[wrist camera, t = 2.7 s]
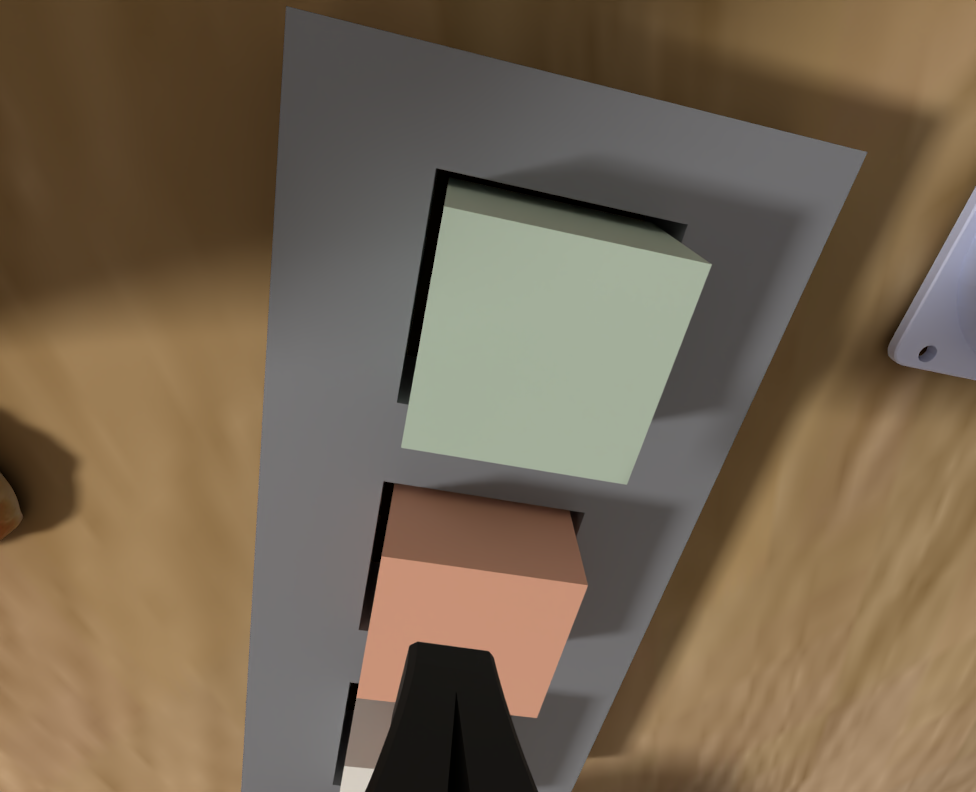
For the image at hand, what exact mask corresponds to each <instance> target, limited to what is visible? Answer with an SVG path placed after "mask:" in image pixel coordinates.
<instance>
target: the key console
mask: <svg viewBox="0 0 976 792" xmlns="http://www.w3.org/2000/svg"><path fill="white" fill-rule="evenodd" d="M866 154H867V152H865V151H861V150H857V149H853V148H849V147H845V146H841V145H837V144H833V143H829V142H825V141H821V140H817V139H813V138H809V137H805V136H801V135H797V134H793V133H789V132H785V131H781V130H777V129H773V128H769V127H765V126H761V125H757V124H753V123H749V122H745V121H741V120H737V119H733V118H729V117H725V116H721V115H717V114H713V113H709V112H705V111H701V110H698V109H694V108H690V107H686V106H682V105H678V104H674V103H670V102H666V101H662V100H658V99H654V98H650V97H646V96H642V95H638V94H634V93H630V92H626V91H622V90H618V89H614V88H610V87H606V86H602V85H598V84H594V83H590V82H586V81H582V80H578V79H574V78H570V77H566V76H562V75H558V74H554V73H550V72H546V71H542V70H538V69H534V68H530V67H526V66H522V65H518V64H515V63H511V62H507V61H503V60H499V59H495V58H491V57H487V56H483V55H479V54H475V53H471V52H467V51H463V50H459V49H455V48H451V47H447V46H443V45H439V44H435V43H431V42H427V41H423V40H419V39H415V38H411V37H407V36H403V35H399V34H395V33H391V32H387V31H383V30H379V29H375V28H371V27H367V26H363V25H359V24H355V23H351V22H347V21H343V20H339V19H335V18H331V17H328V16H324V15H320V14H316V13H312V12H308V11H304V10H300V9H296V8H292V7H288V6H286V17H285V35H284V52H283V70H282V87H281V105H280V122H279V140H278V157H277V175H276V192H275V210H274V227H273V245H272V262H271V280H270V297H269V315H268V332H267V350H266V367H265V385H264V402H263V420H262V438H261V455H260V473H259V490H258V508H257V525H256V543H255V560H254V578H253V595H252V613H251V630H250V648H249V665H248V683H247V700H246V718H245V735H244V753H243V770H242V788H241V792H340V787H341V781H342V776H343V770H344V764H345V759H346V753H347V748H348V742H349V737H350V731H351V725H352V720H353V714H354V710H347V706H348V700H349V694H350V688H351V683H359V680H360V675H361V669H362V663H363V658H364V652H365V647H366V641H367V635H368V630H369V624H370V619H371V613H372V607H373V602H374V596H375V590H376V585H377V579H378V574H379V568H380V563H378V562H372V559H373V553H374V547H375V541H376V535H377V529H378V523H379V518H380V512H381V506H382V500H383V494H384V488H385V482H391V483H398V484H404V485H411V486H417V487H423V488H430V489H436V490H442V491H449V492H455V493H462V494H468V495H474V496H481V497H487V498H494V499H500V500H506V501H513V502H519V503H525V504H532V505H538V506H545V507H551V508H557V509H564V510H569V511H570V515H571V519H572V523H573V527H574V531H575V535H576V539H577V543H578V547H579V551H580V555H581V559H582V563H583V567H584V571H585V575H586V579H587V583H588V587H587V589H586V592H585V595H584V597H583V600H582V602H581V605H580V608H579V610H578V613H577V615H576V618H575V621H574V623H573V626H572V628H571V631H570V634H569V636H568V639H567V641H566V644H565V646H564V649H563V652H562V654H561V657H560V659H559V662H558V665H557V667H556V670H555V672H554V675H553V678H552V680H551V683H550V685H549V688H548V691H547V693H546V696H545V698H544V701H543V703H542V706H541V709H540V711H539V714H538V716H537V718H532V717H523V716H514V715H510V716H511V719H512V722H513V725H514V728H515V731H516V734H517V736H518V739H519V742H520V745H521V748H522V751H523V753H524V756H525V759H526V761H527V764H528V767H529V769H530V772H531V774H532V777H533V780H534V782H535V785H536V787H537V790H538V792H571V791H572V789H573V787H574V785H575V783H576V781H577V778H578V776H579V774H580V772H581V770H582V768H583V765H584V763H585V761H586V759H587V757H588V755H589V752H590V750H591V748H592V746H593V744H594V742H595V740H596V737H597V735H598V733H599V731H600V729H601V727H602V724H603V722H604V720H605V718H606V716H607V714H608V711H609V709H610V707H611V705H612V703H613V701H614V698H615V696H616V694H617V692H618V690H619V688H620V686H621V683H622V681H623V679H624V677H625V675H626V673H627V670H628V668H629V666H630V664H631V662H632V660H633V657H634V655H635V653H636V651H637V649H638V647H639V645H640V642H641V640H642V638H643V636H644V634H645V632H646V629H647V627H648V625H649V623H650V621H651V619H652V616H653V614H654V612H655V610H656V608H657V606H658V604H659V601H660V599H661V597H662V595H663V593H664V591H665V588H666V586H667V584H668V582H669V580H670V578H671V575H672V573H673V571H674V569H675V567H676V565H677V562H678V560H679V558H680V556H681V554H682V552H683V550H684V547H685V545H686V543H687V541H688V539H689V537H690V534H691V532H692V530H693V528H694V526H695V524H696V521H697V519H698V517H699V515H700V513H701V511H702V509H703V506H704V504H705V502H706V500H707V498H708V496H709V493H710V491H711V489H712V487H713V485H714V483H715V480H716V478H717V476H718V474H719V472H720V470H721V468H722V465H723V463H724V461H725V459H726V457H727V455H728V452H729V450H730V448H731V446H732V444H733V442H734V439H735V437H736V435H737V433H738V431H739V429H740V426H741V424H742V422H743V420H744V418H745V416H746V414H747V411H748V409H749V407H750V405H751V403H752V401H753V398H754V396H755V394H756V392H757V390H758V388H759V385H760V383H761V381H762V379H763V377H764V375H765V373H766V370H767V368H768V366H769V364H770V362H771V360H772V357H773V355H774V353H775V351H776V349H777V347H778V344H779V342H780V340H781V338H782V336H783V334H784V332H785V329H786V327H787V325H788V323H789V321H790V319H791V316H792V314H793V312H794V310H795V308H796V306H797V303H798V301H799V299H800V297H801V295H802V293H803V290H804V288H805V286H806V284H807V282H808V280H809V278H810V275H811V273H812V271H813V269H814V267H815V265H816V262H817V260H818V258H819V256H820V254H821V252H822V249H823V247H824V245H825V243H826V241H827V239H828V237H829V234H830V232H831V230H832V228H833V226H834V224H835V221H836V219H837V217H838V215H839V213H840V211H841V208H842V206H843V204H844V202H845V200H846V198H847V196H848V193H849V191H850V189H851V187H852V185H853V183H854V180H855V178H856V176H857V174H858V172H859V170H860V167H861V165H862V163H863V161H864V159H865V157H866ZM439 169H442V170H447V171H451V172H456V173H460V174H465V175H469V176H473V177H478V178H482V179H487V180H491V181H496V182H500V183H505V184H509V185H513V186H518V187H522V188H527V189H531V190H536V191H540V192H545V193H549V194H553V195H558V196H562V197H567V198H571V199H576V200H580V201H585V202H589V203H593V204H598V205H602V206H607V207H611V208H616V209H620V210H625V211H629V212H633V213H638V214H642V215H646V217H645V220H644V221H648V222H652V223H653V224H655V225H656V226H658V227H659V228H660V229H662V230H663V231H665V232H666V233H668V234H669V235H670V236H672V237H673V238H675V239H676V240H678V241H679V242H681V243H682V244H683V245H685V246H686V247H688V248H689V249H691V250H692V251H693V252H695V253H696V254H698V255H699V256H701V257H702V258H703V259H705V260H706V261H708V262H709V263H711V264H712V266H711V268H710V271H709V273H708V276H707V278H706V281H705V284H704V286H703V289H702V291H701V294H700V297H699V299H698V302H697V304H696V307H695V310H694V312H693V315H692V317H691V320H690V323H689V325H688V328H687V330H686V333H685V335H684V338H683V341H682V343H681V346H680V348H679V351H678V354H677V356H676V359H675V361H674V364H673V367H672V369H671V372H670V374H669V377H668V380H667V382H666V385H665V387H664V390H663V393H662V395H661V398H660V400H659V403H658V405H657V408H656V411H655V413H654V416H653V418H652V421H651V424H650V426H649V429H648V431H647V434H646V437H645V439H644V442H643V444H642V447H641V450H640V452H639V455H638V457H637V460H636V462H635V465H634V468H633V470H632V473H631V475H630V478H629V481H628V483H627V485H625V484H619V483H613V482H607V481H601V480H595V479H588V478H582V477H576V476H570V475H564V474H558V473H552V472H546V471H540V470H534V469H528V468H522V467H515V466H509V465H503V464H497V463H491V462H485V461H479V460H473V459H467V458H461V457H455V456H449V455H442V454H436V453H430V452H424V451H418V450H412V449H406V448H401V445H402V439H403V433H404V428H405V422H406V416H407V411H408V405H409V400H410V394H411V388H412V383H413V377H414V372H415V366H416V360H417V357H413V356H408V355H407V353H408V347H409V341H410V335H411V329H412V323H413V317H414V311H415V306H416V300H417V294H418V288H419V282H420V276H421V270H422V264H423V259H424V253H425V247H426V241H427V235H428V229H429V223H430V217H431V211H432V206H433V200H434V194H435V188H436V182H437V176H438V170H439Z"/></svg>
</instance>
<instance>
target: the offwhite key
mask: <svg viewBox="0 0 976 792" xmlns="http://www.w3.org/2000/svg"><path fill="white" fill-rule="evenodd" d="M394 706H395V702H387V701H378V700H369V699H360V698H356V703H355V709H354V714H353V720H352V725H351V731H350V737H349V742H348V748H347V753H346V759H345V764H344V770H343V776H342V781H341V787H340V792H365V790H366V788H367V786H368V783H369V781H370V779H371V776H372V774H373V771H374V769H375V766H376V763H377V761H378V758H379V755H380V753H381V750H382V747H383V745H384V742H385V739H386V737H387V734H388V731H389V729H390V725H391V719H392V714H393V710H394Z"/></svg>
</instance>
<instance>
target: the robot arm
mask: <svg viewBox="0 0 976 792" xmlns="http://www.w3.org/2000/svg"><path fill="white" fill-rule="evenodd" d="M926 346H928V347H927V350H926V352H925V353H924V354H923V355H921V356H919V353H920V351H921V350H922V349H923V348H925V347H926ZM888 356H889V357H890V358H891V359H892V360H893V361H895V362H896V363H898V364H900V365H903V366H908V367H912V368H917V369H922V370H927V371H932V372H937V373H942V374H947V375H952V376H957V377H962V378H967V379H972V380H976V187H975V189H974V191H973V192H972V194H971V196H970V198H969V200H968V202H967V203H966V205H965V207H964V209H963V211H962V212H961V214H960V216H959V218H958V220H957V222H956V223H955V225H954V227H953V229H952V231H951V232H950V234H949V236H948V238H947V240H946V242H945V243H944V245H943V247H942V249H941V251H940V252H939V254H938V256H937V258H936V260H935V261H934V263H933V265H932V267H931V269H930V271H929V272H928V274H927V276H926V278H925V280H924V281H923V283H922V285H921V287H920V289H919V291H918V292H917V294H916V296H915V298H914V300H913V301H912V303H911V305H910V307H909V309H908V311H907V312H906V314H905V316H904V318H903V320H902V321H901V323H900V325H899V327H898V329H897V330H896V332H895V334H894V336H893V338H892V340H891V341H890V343H889V346H888ZM918 356H919V357H918ZM365 792H538V790H537V787H536V785H535V782H534V780H533V777H532V774H531V772H530V769H529V767H528V764H527V761H526V759H525V756H524V753H523V751H522V748H521V745H520V742H519V739H518V736H517V734H516V731H515V728H514V725H513V722H512V719H511V716H510V713H509V709H508V706H507V703H506V700H505V697H504V693H503V690H502V686H501V683H500V679H499V676H498V672H497V668H496V664H495V660H494V657H493V655H492V654H491V653H490V652H489V651H485V650H477V649H470V648H462V647H455V646H448V645H440V644H433V643H425V642H418V641H417V642H415V643H413V644H411V645H409V649H408V653H407V657H406V661H405V665H404V669H403V673H402V677H401V681H400V685H399V689H398V694H397V698H396V702H395V706H394V710H393V714H392V719H391V725H390V729H389V731H388V734H387V737H386V739H385V742H384V745H383V747H382V750H381V753H380V755H379V758H378V761H377V763H376V766H375V769H374V771H373V774H372V776H371V779H370V781H369V783H368V786H367V788H366V790H365Z"/></svg>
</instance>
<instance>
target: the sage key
mask: <svg viewBox="0 0 976 792" xmlns="http://www.w3.org/2000/svg"><path fill="white" fill-rule="evenodd" d="M711 266H712V264H711V263H709V262H708V261H706V260H705V259H703V258H702V257H701V256H699V255H698V254H696V253H695V252H693V251H692V250H691V249H689V248H688V247H686V246H685V245H683V244H682V243H681V242H679V241H678V240H676V239H675V238H673V237H672V236H670V235H669V234H668V233H666V232H665V231H663V230H662V229H660V228H659V227H658V226H656V225H655V224H653V223H652V222H648V221H643V220H639V219H634V218H630V217H626V216H621V215H617V214H612V213H608V212H603V211H599V210H594V209H590V208H585V207H581V206H576V205H572V204H567V203H563V202H558V201H554V200H550V199H545V198H541V197H536V196H532V195H527V194H523V193H518V192H514V191H509V190H505V189H500V188H496V187H491V186H487V185H482V184H478V183H474V182H469V181H465V180H460V179H456V178H451V177H449V181H448V187H447V192H446V198H445V203H444V209H443V214H442V220H441V226H440V231H439V237H438V242H437V248H436V254H435V259H434V265H433V271H432V276H431V282H430V287H429V293H428V299H427V304H426V310H425V315H424V321H423V327H422V332H421V338H420V344H419V349H418V355H417V360H416V366H415V372H414V377H413V383H412V388H411V394H410V400H409V405H408V411H407V416H406V422H405V428H404V433H403V439H402V445H401V448H406V449H412V450H418V451H424V452H430V453H436V454H442V455H449V456H455V457H461V458H467V459H473V460H479V461H485V462H491V463H497V464H503V465H509V466H515V467H522V468H528V469H534V470H540V471H546V472H552V473H558V474H564V475H570V476H576V477H582V478H588V479H595V480H601V481H607V482H613V483H619V484H625V485H627V483H628V481H629V478H630V475H631V473H632V470H633V468H634V465H635V462H636V460H637V457H638V455H639V452H640V450H641V447H642V444H643V442H644V439H645V437H646V434H647V431H648V429H649V426H650V424H651V421H652V418H653V416H654V413H655V411H656V408H657V405H658V403H659V400H660V398H661V395H662V393H663V390H664V387H665V385H666V382H667V380H668V377H669V374H670V372H671V369H672V367H673V364H674V361H675V359H676V356H677V354H678V351H679V348H680V346H681V343H682V341H683V338H684V335H685V333H686V330H687V328H688V325H689V323H690V320H691V317H692V315H693V312H694V310H695V307H696V304H697V302H698V299H699V297H700V294H701V291H702V289H703V286H704V284H705V281H706V278H707V276H708V273H709V271H710V268H711Z"/></svg>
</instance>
